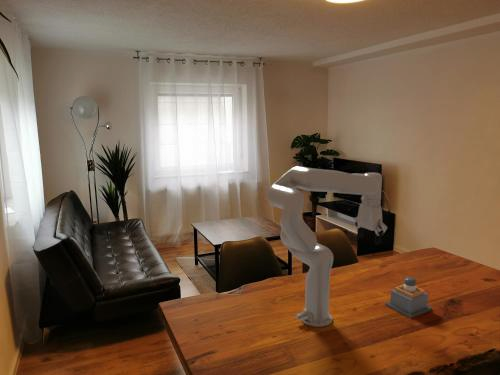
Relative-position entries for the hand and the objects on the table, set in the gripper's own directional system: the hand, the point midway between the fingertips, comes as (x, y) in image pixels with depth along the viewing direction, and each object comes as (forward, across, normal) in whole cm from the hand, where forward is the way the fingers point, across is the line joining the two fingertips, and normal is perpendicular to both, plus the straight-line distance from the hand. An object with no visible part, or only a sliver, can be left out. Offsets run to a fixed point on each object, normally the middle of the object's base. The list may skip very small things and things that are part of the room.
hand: (368, 240), depth 168 cm
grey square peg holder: (+28, +13, +12) cm, 33 cm away
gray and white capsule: (+21, +13, +12) cm, 28 cm away
